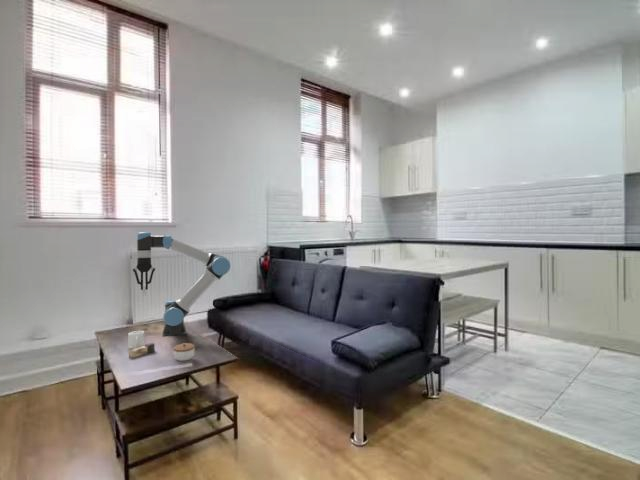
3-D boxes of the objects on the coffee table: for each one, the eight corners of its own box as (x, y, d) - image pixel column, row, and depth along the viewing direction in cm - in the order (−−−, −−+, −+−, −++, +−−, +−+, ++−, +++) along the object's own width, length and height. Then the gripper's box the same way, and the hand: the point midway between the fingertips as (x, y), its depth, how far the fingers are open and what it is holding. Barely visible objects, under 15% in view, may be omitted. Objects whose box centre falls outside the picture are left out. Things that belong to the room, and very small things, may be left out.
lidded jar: (177, 357, 191) (177, 340, 190) (197, 356, 192) (197, 340, 191) (170, 364, 180) (170, 347, 180) (191, 364, 181) (191, 346, 181)
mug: (129, 354, 194) (129, 337, 194) (128, 348, 204) (128, 331, 204) (144, 351, 198) (144, 335, 198) (143, 345, 208) (143, 329, 208)
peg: (151, 349, 198) (151, 342, 198) (156, 351, 195) (156, 344, 195) (126, 356, 186) (126, 349, 186) (131, 358, 183) (131, 351, 183)
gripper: (155, 256, 217) (155, 293, 218) (132, 257, 212) (132, 294, 212) (155, 257, 211) (155, 295, 211) (131, 257, 205) (132, 296, 206)
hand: (144, 294), depth 212 cm, fingers closed
